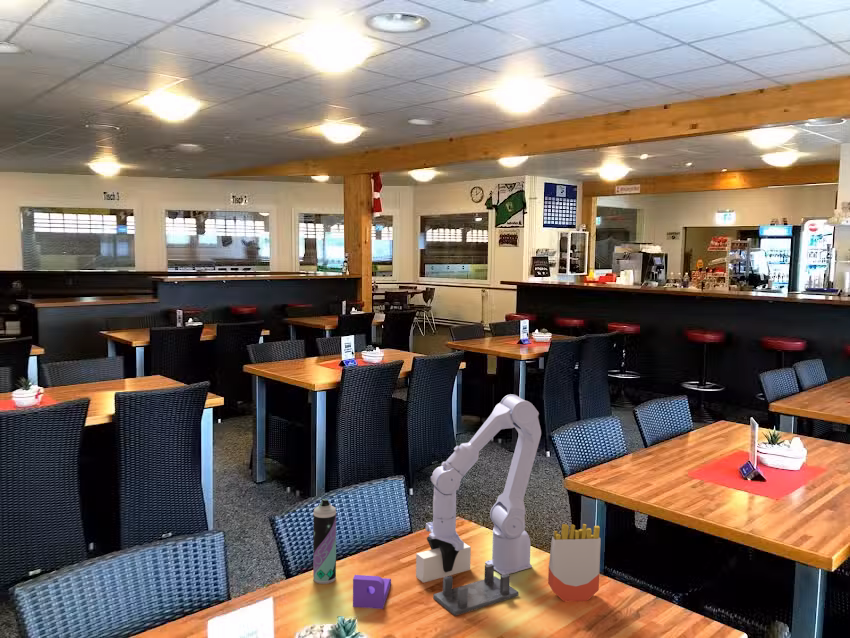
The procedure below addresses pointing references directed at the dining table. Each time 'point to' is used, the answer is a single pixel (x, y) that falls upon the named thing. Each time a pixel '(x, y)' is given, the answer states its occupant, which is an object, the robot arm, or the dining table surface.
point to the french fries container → (575, 563)
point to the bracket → (370, 591)
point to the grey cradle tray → (475, 593)
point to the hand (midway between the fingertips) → (443, 567)
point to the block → (440, 564)
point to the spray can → (324, 543)
